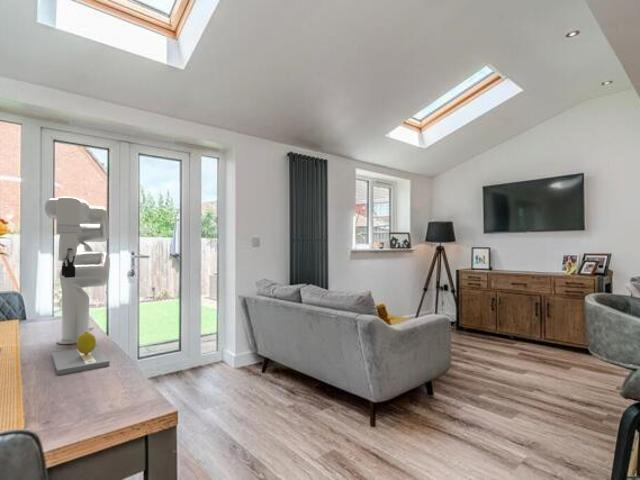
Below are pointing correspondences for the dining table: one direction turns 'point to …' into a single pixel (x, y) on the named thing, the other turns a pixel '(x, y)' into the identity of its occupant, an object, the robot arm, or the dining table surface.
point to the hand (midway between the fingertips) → (68, 276)
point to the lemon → (86, 343)
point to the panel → (77, 361)
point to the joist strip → (87, 358)
